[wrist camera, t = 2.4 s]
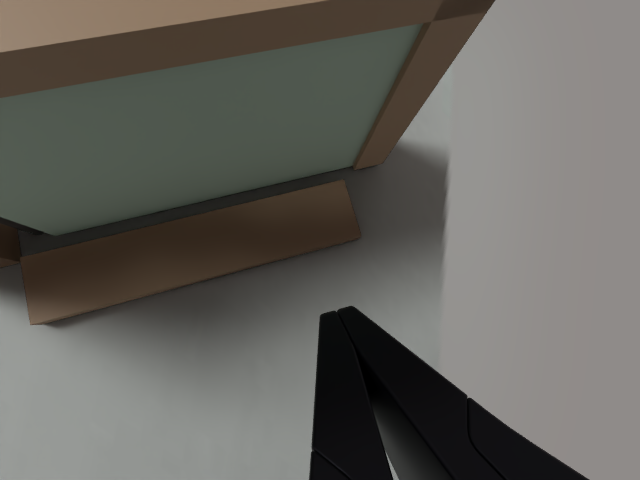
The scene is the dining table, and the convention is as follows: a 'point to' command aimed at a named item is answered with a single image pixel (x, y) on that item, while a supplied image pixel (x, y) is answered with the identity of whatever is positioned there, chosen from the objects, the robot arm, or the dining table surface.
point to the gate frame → (177, 251)
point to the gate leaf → (204, 97)
